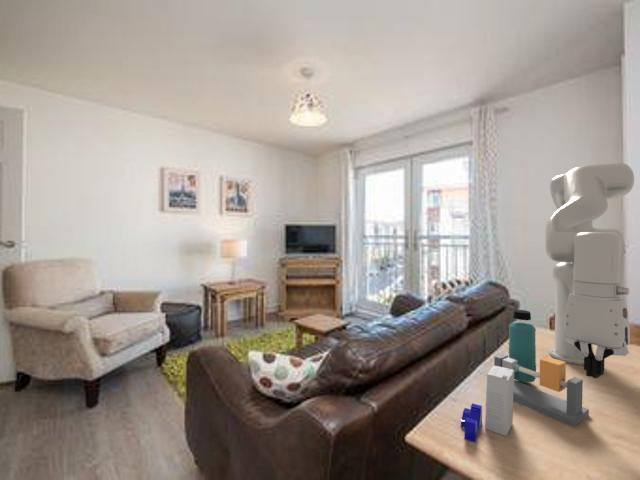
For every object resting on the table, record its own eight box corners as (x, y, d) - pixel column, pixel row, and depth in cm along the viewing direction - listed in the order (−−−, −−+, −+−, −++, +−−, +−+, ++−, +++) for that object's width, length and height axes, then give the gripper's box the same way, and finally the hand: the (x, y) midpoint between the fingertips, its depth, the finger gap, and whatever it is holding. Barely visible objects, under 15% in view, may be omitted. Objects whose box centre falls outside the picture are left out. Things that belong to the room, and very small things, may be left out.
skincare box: (491, 416, 74) (491, 363, 73) (514, 424, 71) (514, 369, 70) (484, 429, 69) (484, 373, 69) (508, 438, 66) (509, 379, 66)
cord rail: (504, 382, 90) (504, 351, 90) (588, 415, 74) (589, 378, 74) (487, 390, 86) (487, 357, 85) (573, 427, 70) (574, 387, 69)
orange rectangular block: (546, 381, 79) (546, 356, 79) (565, 388, 75) (565, 362, 75) (539, 385, 77) (539, 359, 77) (558, 392, 74) (559, 365, 74)
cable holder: (464, 418, 73) (464, 401, 73) (481, 423, 71) (482, 405, 71) (456, 437, 67) (456, 418, 67) (475, 443, 65) (475, 424, 65)
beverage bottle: (540, 389, 86) (541, 314, 85) (512, 387, 87) (513, 313, 87) (529, 378, 92) (530, 308, 92) (504, 376, 94) (505, 307, 93)
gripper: (650, 294, 65) (647, 385, 65) (562, 283, 77) (561, 360, 78) (637, 297, 61) (635, 395, 61) (547, 286, 73) (546, 367, 74)
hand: (593, 375), depth 69 cm, fingers closed
